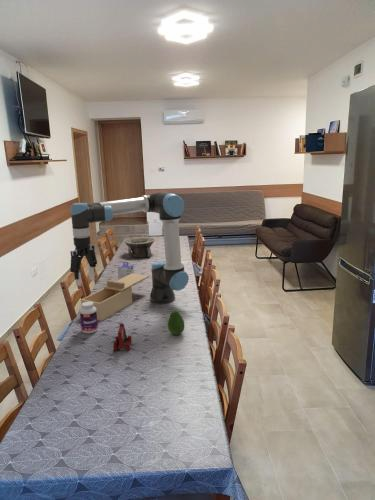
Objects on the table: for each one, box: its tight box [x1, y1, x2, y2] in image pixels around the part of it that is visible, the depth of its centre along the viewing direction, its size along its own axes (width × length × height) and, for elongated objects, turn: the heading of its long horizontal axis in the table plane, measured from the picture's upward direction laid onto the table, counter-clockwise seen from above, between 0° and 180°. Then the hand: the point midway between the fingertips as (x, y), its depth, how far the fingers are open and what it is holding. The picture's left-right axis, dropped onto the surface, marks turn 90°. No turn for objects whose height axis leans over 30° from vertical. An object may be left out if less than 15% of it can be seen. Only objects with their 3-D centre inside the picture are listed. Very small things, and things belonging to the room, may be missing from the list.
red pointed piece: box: [113, 322, 133, 352], centre depth 165 cm, size 7×12×10 cm, turn 2°
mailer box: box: [80, 286, 133, 322], centre depth 206 cm, size 13×28×10 cm, turn 153°
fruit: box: [167, 310, 185, 336], centre depth 175 cm, size 8×8×12 cm
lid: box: [103, 273, 150, 291], centre depth 221 cm, size 13×28×4 cm, turn 153°
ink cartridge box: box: [117, 261, 135, 280], centre depth 250 cm, size 10×6×14 cm, turn 85°
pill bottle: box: [79, 302, 99, 334], centre depth 180 cm, size 8×8×14 cm
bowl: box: [123, 236, 156, 259], centre depth 320 cm, size 27×26×15 cm
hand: (85, 282), depth 176 cm, fingers open, 8 cm apart
